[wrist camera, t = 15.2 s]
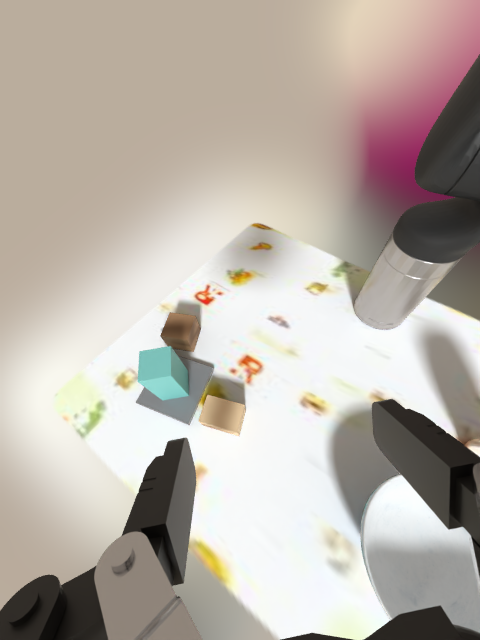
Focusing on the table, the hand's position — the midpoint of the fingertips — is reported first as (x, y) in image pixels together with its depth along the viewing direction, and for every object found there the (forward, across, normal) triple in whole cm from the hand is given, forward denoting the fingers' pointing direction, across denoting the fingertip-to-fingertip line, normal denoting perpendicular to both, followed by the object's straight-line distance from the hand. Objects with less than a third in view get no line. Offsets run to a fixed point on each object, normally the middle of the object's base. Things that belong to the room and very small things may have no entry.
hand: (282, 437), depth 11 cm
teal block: (+31, +13, +11) cm, 35 cm away
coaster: (+32, +13, +12) cm, 36 cm away
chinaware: (+14, -15, +30) cm, 36 cm away
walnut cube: (+38, +11, +5) cm, 40 cm away
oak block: (+27, +5, +16) cm, 32 cm away
